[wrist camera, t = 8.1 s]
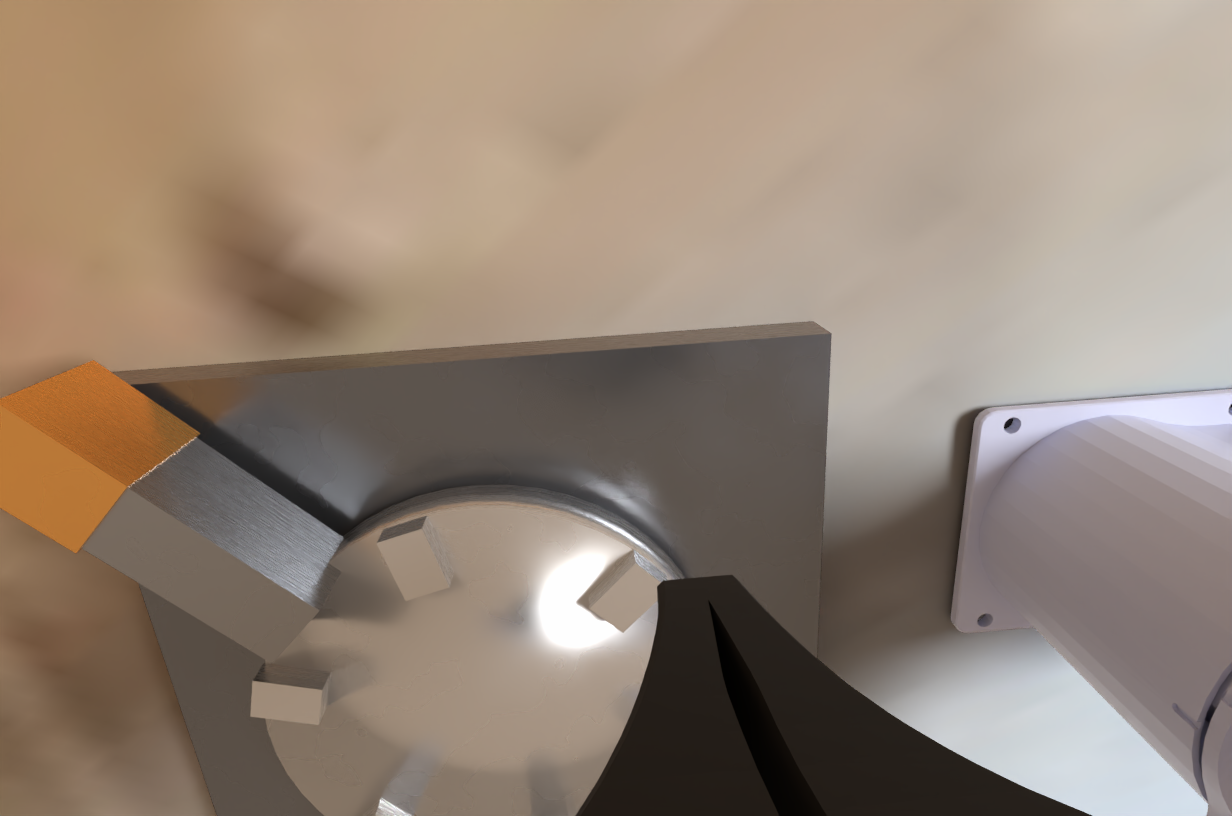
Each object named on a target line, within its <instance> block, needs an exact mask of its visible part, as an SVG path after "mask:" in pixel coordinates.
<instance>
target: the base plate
mask: <svg viewBox="0 0 1232 816" xmlns="http://www.w3.org/2000/svg"><path fill="white" fill-rule="evenodd" d="M830 355H831V333H830V332H828V331H827V330H825V329H824V328H823V327H821V326H820V325H818V324H817V323H815V322H814V321H813V322H799V323H785V324H771V325H758V326H744V327H730V328H716V329H702V330H688V331H675V332H661V333H647V334H633V335H619V336H605V337H592V338H578V339H564V340H550V341H536V342H522V343H509V344H495V345H481V346H467V347H453V348H439V349H426V350H412V351H398V352H384V353H370V354H356V355H342V356H329V357H315V358H301V359H287V360H273V361H259V362H246V363H232V364H218V365H204V366H190V367H176V368H163V369H149V370H135V371H121V372H112V373H113V374H114V375H116V376H117V377H119V378H120V379H122V380H123V381H125V382H126V383H128V384H129V385H131V386H132V387H133V388H135V389H136V390H138V391H139V392H141V393H142V394H144V395H145V396H147V397H148V398H150V399H151V400H152V401H154V402H155V403H157V404H158V405H160V406H161V407H163V408H164V409H166V410H167V411H169V412H170V413H171V414H173V415H174V416H176V417H177V418H179V419H180V420H182V421H183V422H185V423H186V424H188V425H189V426H190V427H192V428H193V429H195V430H196V431H198V432H199V433H200V434H199V436H198V437H197V438H198V439H200V440H201V441H202V442H204V443H205V444H207V445H208V446H210V447H211V448H213V449H214V450H216V451H217V452H219V453H220V454H222V455H223V456H224V457H226V458H227V459H229V460H230V461H232V462H233V463H235V464H236V465H238V466H239V467H241V468H242V469H244V470H245V471H246V472H248V473H249V474H251V475H252V476H254V477H255V478H257V479H258V480H260V481H261V482H263V483H264V484H266V485H267V486H268V487H270V488H271V489H273V490H274V491H276V492H277V493H279V494H280V495H282V496H283V497H285V498H286V499H288V500H289V501H291V502H292V503H293V504H295V505H296V506H298V507H299V508H301V509H302V510H304V511H305V512H307V513H308V514H310V515H311V516H313V517H314V518H315V519H317V520H318V521H320V522H321V523H323V524H324V525H326V526H327V527H329V528H330V529H332V530H333V531H335V532H336V533H337V534H339V535H340V536H342V537H343V536H344V535H345V534H347V533H348V532H350V531H351V530H352V529H354V528H355V527H356V526H358V525H359V524H360V523H362V522H363V521H365V520H366V519H368V518H370V517H372V516H374V515H376V514H377V513H379V512H381V511H383V510H385V509H387V508H388V507H390V506H393V505H396V504H398V503H401V502H403V501H406V500H409V499H411V498H414V497H416V496H420V495H424V494H428V493H432V492H436V491H440V490H443V489H448V488H456V487H464V486H472V485H517V486H526V487H535V488H541V489H546V490H550V491H554V492H559V493H563V494H567V495H570V496H573V497H576V498H579V499H581V500H584V501H587V502H590V503H592V504H595V505H597V506H599V507H601V508H603V509H605V510H607V511H609V512H611V513H613V514H615V515H617V516H619V517H621V518H622V519H624V520H625V521H627V522H628V523H630V524H631V525H633V526H634V527H636V528H637V529H639V530H640V531H641V532H643V533H644V534H646V535H647V536H648V537H649V538H650V539H651V540H652V541H653V542H654V543H655V544H657V545H658V546H659V547H660V548H661V549H662V550H663V551H664V552H665V553H666V554H667V555H668V556H669V558H670V559H671V560H672V561H673V563H674V564H675V565H676V566H677V567H678V569H679V570H680V571H681V572H682V574H683V576H684V577H685V579H686V578H698V577H710V576H722V575H733V576H734V577H735V578H737V579H738V580H739V581H740V582H741V584H742V585H743V586H744V587H745V588H746V589H747V590H748V591H749V592H750V593H751V594H752V596H753V597H754V598H755V599H756V600H757V601H758V602H759V603H760V604H761V605H762V606H763V607H764V608H765V609H766V610H767V611H768V612H769V613H770V614H771V615H772V616H773V618H774V619H775V620H776V621H778V622H779V623H780V624H781V625H782V626H783V627H784V628H785V629H786V630H787V631H788V632H789V633H790V634H791V635H792V636H793V637H794V638H795V639H796V640H797V641H798V642H799V643H801V644H802V645H803V646H804V647H805V648H806V649H807V650H808V651H809V652H810V653H811V654H813V655H814V656H815V657H816V658H817V646H818V624H819V602H820V579H821V557H822V534H823V512H824V489H825V467H826V445H827V422H828V400H829V377H830ZM138 584H139V583H138ZM139 587H140V590H141V592H142V595H143V598H144V601H145V604H146V607H147V610H148V613H149V616H150V619H151V622H152V625H153V628H154V631H155V634H156V637H157V640H158V643H159V646H160V649H161V652H162V655H163V658H164V661H165V663H166V666H167V669H168V672H169V675H170V678H171V681H172V684H173V687H174V690H175V693H176V696H177V699H178V702H179V705H180V708H181V711H182V714H183V717H184V720H185V723H186V726H187V729H188V731H189V734H190V737H191V740H192V743H193V746H194V749H195V752H196V755H197V758H198V761H199V764H200V767H201V770H202V773H203V776H204V779H205V782H206V785H207V788H208V791H209V794H210V797H211V800H212V802H213V805H214V808H215V811H216V814H217V816H324V815H323V814H322V813H321V812H319V811H318V810H317V809H316V808H315V806H314V805H313V804H312V803H311V802H310V801H309V800H308V799H307V798H306V797H305V796H304V795H303V794H302V793H301V792H300V790H299V789H298V788H297V786H296V785H295V784H294V782H293V781H292V780H291V778H290V777H289V776H288V774H287V773H286V771H285V769H284V767H283V765H282V763H281V761H280V760H279V758H278V756H277V754H276V752H275V750H274V747H273V744H272V741H271V738H270V736H269V733H268V730H267V725H266V720H265V718H258V717H250V713H251V697H252V681H253V679H254V678H255V676H256V674H257V673H258V671H259V670H260V668H261V666H262V665H263V663H265V659H263V658H262V657H260V656H258V655H257V654H255V653H253V652H252V651H250V650H248V649H247V648H245V647H244V646H242V645H240V644H239V643H237V642H235V641H234V640H232V639H230V638H229V637H227V636H225V635H224V634H222V633H220V632H219V631H217V630H215V629H214V628H212V627H210V626H209V625H207V624H206V623H204V622H202V621H201V620H199V619H197V618H196V617H194V616H192V615H191V614H189V613H187V612H186V611H184V610H182V609H181V608H179V607H177V606H176V605H174V604H172V603H171V602H169V601H167V600H166V599H164V598H163V597H161V596H159V595H158V594H156V593H154V592H153V591H151V590H149V589H148V588H146V587H144V586H143V585H141V584H139Z"/></svg>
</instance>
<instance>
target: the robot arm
mask: <svg viewBox="0 0 1232 816" xmlns="http://www.w3.org/2000/svg"><path fill="white" fill-rule="evenodd" d="M1231 404H1232V389H1224V390H1211V391H1198V392H1185V393H1172V394H1159V395H1146V396H1133V397H1120V398H1107V399H1094V400H1081V401H1068V402H1055V403H1042V404H1029V405H1016V406H1003V407H991V408H987V409H985V410H983V411H982V412H980V413H979V414H978V416H977V417H976V419H975V422H974V426H973V434H972V443H971V451H970V459H969V468H968V476H967V484H966V493H965V501H964V509H963V518H962V526H961V534H960V543H959V551H958V559H957V568H956V576H955V584H954V593H953V601H952V609H951V622H952V623H953V624H954V626H955V627H956V628H957V629H958V630H959V631H961V632H962V633H975V632H986V631H998V630H1009V629H1020V628H1032V627H1034V628H1035V629H1036V630H1037V631H1038V632H1039V633H1040V634H1041V635H1042V636H1043V637H1044V638H1045V639H1046V640H1047V641H1048V642H1049V643H1050V644H1051V645H1052V646H1053V647H1054V648H1055V649H1056V650H1057V651H1058V652H1059V653H1060V654H1061V655H1062V656H1063V657H1064V658H1065V659H1066V660H1067V661H1068V662H1069V663H1070V664H1071V665H1072V666H1073V667H1074V668H1075V670H1076V671H1077V672H1078V673H1079V674H1080V675H1081V676H1082V677H1083V678H1084V679H1085V680H1086V681H1087V682H1088V683H1089V684H1090V685H1091V686H1092V687H1093V688H1094V689H1095V690H1096V691H1097V692H1098V693H1099V694H1100V695H1101V696H1102V697H1103V698H1104V699H1105V700H1106V701H1107V702H1108V703H1109V704H1110V705H1111V706H1112V707H1113V708H1114V709H1115V710H1116V711H1117V712H1118V713H1119V714H1120V715H1121V716H1122V717H1123V718H1124V719H1125V720H1126V721H1127V722H1128V723H1129V724H1130V725H1131V726H1132V727H1133V728H1134V729H1135V730H1136V731H1137V732H1138V733H1139V734H1140V735H1141V736H1142V737H1143V738H1144V740H1145V741H1146V742H1147V743H1148V744H1149V745H1150V746H1151V747H1152V748H1153V749H1154V750H1155V751H1156V752H1157V753H1158V754H1159V755H1160V756H1161V757H1162V758H1163V759H1164V760H1165V761H1166V762H1167V763H1168V764H1169V765H1170V766H1171V767H1172V768H1173V769H1174V770H1175V771H1176V772H1177V773H1178V774H1179V775H1180V776H1181V777H1182V778H1183V779H1184V780H1185V781H1186V782H1187V783H1188V784H1189V785H1190V786H1191V787H1192V788H1193V789H1194V790H1195V791H1196V792H1197V793H1198V794H1199V795H1200V796H1201V797H1202V798H1203V799H1204V800H1205V801H1206V802H1207V803H1208V812H1207V815H1206V816H1232V408H1231V409H1229V407H1230V405H1231ZM1010 418H1013V422H1012V425H1011V426H1009V427H1008V428H1006V429H1004V424H1005V422H1006V421H1007V420H1008V419H1010ZM657 600H658V619H657V626H656V632H655V636H654V641H653V645H652V650H651V654H650V658H649V662H648V665H647V668H646V671H645V674H644V678H643V681H642V684H641V687H640V690H639V693H638V696H637V699H636V701H635V704H634V706H633V709H632V711H631V714H630V716H629V719H628V721H627V723H626V726H625V728H624V730H623V732H622V735H621V737H620V739H619V741H618V743H617V745H616V747H615V749H614V751H613V753H612V755H611V757H610V759H609V761H608V763H607V765H606V766H605V768H604V770H603V772H602V774H601V776H600V777H599V779H598V781H597V783H596V784H595V786H594V787H593V789H592V791H591V792H590V794H589V795H588V797H587V798H586V800H585V802H584V803H583V805H582V806H581V808H580V809H579V811H578V813H577V814H576V816H1092V815H1089V814H1087V813H1085V812H1082V811H1080V810H1077V809H1075V808H1073V807H1070V806H1068V805H1065V804H1063V803H1061V802H1058V801H1056V800H1053V799H1051V798H1048V797H1046V796H1044V795H1041V794H1039V793H1036V792H1034V791H1032V790H1029V789H1027V788H1025V787H1023V786H1021V785H1018V784H1016V783H1014V782H1012V781H1010V780H1008V779H1006V778H1004V777H1002V776H1000V775H998V774H996V773H994V772H992V771H990V770H988V769H986V768H984V767H982V766H980V765H977V764H976V763H974V762H972V761H970V760H968V759H966V758H964V757H962V756H961V755H959V754H957V753H955V752H953V751H951V750H949V749H948V748H946V747H944V746H942V745H941V744H939V743H937V742H936V741H934V740H932V739H930V738H929V737H927V736H925V735H924V734H922V733H920V732H919V731H917V730H915V729H913V728H912V727H910V726H908V725H907V724H905V723H904V722H902V721H901V720H899V719H897V718H896V717H894V716H893V715H891V714H890V713H888V712H887V711H885V710H884V709H882V708H881V707H880V706H878V705H877V704H875V703H874V702H872V701H871V700H870V699H868V698H867V697H865V696H864V695H862V694H861V693H860V692H858V691H857V690H855V689H854V688H853V687H851V686H850V685H849V684H847V683H846V682H845V681H843V680H842V679H841V678H840V677H838V676H837V675H836V674H835V673H834V672H832V671H831V670H830V669H829V668H828V667H826V666H825V665H824V664H823V663H822V662H821V661H819V660H818V659H817V658H816V657H815V656H814V655H813V654H811V653H810V652H809V651H808V650H807V649H806V648H805V647H804V646H803V645H802V644H801V643H799V642H798V641H797V640H796V639H795V638H794V637H793V636H792V635H791V634H790V633H789V632H788V631H787V630H786V629H785V628H784V627H783V626H782V625H781V624H780V623H779V622H778V621H776V620H775V619H774V618H773V616H772V615H771V614H770V613H769V612H768V611H767V610H766V609H765V608H764V607H763V606H762V605H761V604H760V603H759V602H758V601H757V600H756V599H755V598H754V597H753V596H752V594H751V593H750V592H749V591H748V590H747V589H746V588H745V587H744V586H743V585H742V584H741V582H740V581H739V580H738V579H737V578H735V577H734V576H733V575H722V576H710V577H698V578H686V579H674V580H663V581H662V582H661V583H660V584H659V585H658V586H657ZM983 614H986V615H985V616H984V617H983V618H982V619H978V618H979V617H980V616H981V615H983Z"/></svg>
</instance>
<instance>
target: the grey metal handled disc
mask: <svg viewBox="0 0 1232 816" xmlns="http://www.w3.org/2000/svg"><path fill="white" fill-rule="evenodd" d="M199 434H200V433H199V432H198V431H196V430H195V429H193V428H192V427H190V426H189V425H188V424H186V423H185V422H183V421H182V420H180V419H179V418H177V417H176V416H174V415H173V414H171V413H170V412H169V411H167V410H166V409H164V408H163V407H161V406H160V405H158V404H157V403H155V402H154V401H152V400H151V399H150V398H148V397H147V396H145V395H144V394H142V393H141V392H139V391H138V390H136V389H135V388H133V387H132V386H131V385H129V384H128V383H126V382H125V381H123V380H122V379H120V378H119V377H117V376H116V375H114V374H113V373H112V372H110V371H109V370H107V369H106V368H104V367H103V366H101V365H100V364H98V363H97V362H95V361H94V360H93V361H90V362H88V363H86V364H83V365H81V366H78V367H76V368H74V369H71V370H69V371H66V372H64V373H62V374H59V375H57V376H54V377H52V378H49V379H47V380H45V381H42V382H40V383H37V384H35V385H33V386H30V387H28V388H25V389H23V390H21V391H18V392H16V393H13V394H11V395H9V396H6V397H4V398H1V399H0V508H1V509H3V510H4V511H6V512H8V513H9V514H11V515H13V516H14V517H16V518H18V519H19V520H21V521H23V522H24V523H26V524H28V525H29V526H31V527H33V528H34V529H36V530H38V531H39V532H41V533H43V534H44V535H46V536H48V537H49V538H51V539H53V540H54V541H56V542H58V543H59V544H61V545H63V546H64V547H66V548H68V549H69V550H71V551H73V552H74V553H77V552H78V551H80V550H81V549H83V550H85V551H87V552H88V553H90V554H91V555H93V556H95V557H96V558H98V559H100V560H101V561H103V562H105V563H106V564H108V565H110V566H111V567H113V568H115V569H116V570H118V571H120V572H121V573H123V574H125V575H126V576H128V577H129V578H131V579H133V580H134V581H136V582H138V583H139V584H141V585H143V586H144V587H146V588H148V589H149V590H151V591H153V592H154V593H156V594H158V595H159V596H161V597H163V598H164V599H166V600H167V601H169V602H171V603H172V604H174V605H176V606H177V607H179V608H181V609H182V610H184V611H186V612H187V613H189V614H191V615H192V616H194V617H196V618H197V619H199V620H201V621H202V622H204V623H206V624H207V625H209V626H210V627H212V628H214V629H215V630H217V631H219V632H220V633H222V634H224V635H225V636H227V637H229V638H230V639H232V640H234V641H235V642H237V643H239V644H240V645H242V646H244V647H245V648H247V649H248V650H250V651H252V652H253V653H255V654H257V655H258V656H260V657H262V658H263V659H265V663H263V665H262V666H261V668H260V670H259V671H258V673H257V674H256V676H255V678H254V679H253V681H252V697H251V713H250V717H258V718H265V720H266V725H267V730H268V733H269V736H270V738H271V741H272V744H273V747H274V750H275V752H276V754H277V756H278V758H279V760H280V761H281V763H282V765H283V767H284V769H285V771H286V773H287V774H288V776H289V777H290V778H291V780H292V781H293V782H294V784H295V785H296V786H297V788H298V789H299V790H300V792H301V793H302V794H303V795H304V796H305V797H306V798H307V799H308V800H309V801H310V802H311V803H312V804H313V805H314V806H315V808H316V809H317V810H318V811H319V812H321V813H322V814H323V815H324V816H576V814H577V813H578V811H579V809H580V808H581V806H582V805H583V803H584V802H585V800H586V798H587V797H588V795H589V794H590V792H591V791H592V789H593V787H594V786H595V784H596V783H597V781H598V779H599V777H600V776H601V774H602V772H603V770H604V768H605V766H606V765H607V763H608V761H609V759H610V757H611V755H612V753H613V751H614V749H615V747H616V745H617V743H618V741H619V739H620V737H621V735H622V732H623V730H624V728H625V726H626V723H627V721H628V719H629V716H630V714H631V711H632V709H633V706H634V704H635V701H636V699H637V696H638V693H639V690H640V687H641V684H642V681H643V678H644V674H645V671H646V668H647V665H648V662H649V658H650V654H651V650H652V645H653V641H654V636H655V632H656V626H657V619H658V600H657V586H658V585H659V584H660V583H661V582H662V581H663V580H674V579H685V577H684V576H683V574H682V572H681V571H680V570H679V569H678V567H677V566H676V565H675V564H674V563H673V561H672V560H671V559H670V558H669V556H668V555H667V554H666V553H665V552H664V551H663V550H662V549H661V548H660V547H659V546H658V545H657V544H655V543H654V542H653V541H652V540H651V539H650V538H649V537H648V536H647V535H646V534H644V533H643V532H641V531H640V530H639V529H637V528H636V527H634V526H633V525H631V524H630V523H628V522H627V521H625V520H624V519H622V518H621V517H619V516H617V515H615V514H613V513H611V512H609V511H607V510H605V509H603V508H601V507H599V506H597V505H595V504H592V503H590V502H587V501H584V500H581V499H579V498H576V497H573V496H570V495H567V494H563V493H559V492H554V491H550V490H546V489H541V488H535V487H526V486H517V485H472V486H464V487H456V488H448V489H443V490H440V491H436V492H432V493H428V494H424V495H420V496H416V497H414V498H411V499H409V500H406V501H403V502H401V503H398V504H396V505H393V506H390V507H388V508H387V509H385V510H383V511H381V512H379V513H377V514H376V515H374V516H372V517H370V518H368V519H366V520H365V521H363V522H362V523H360V524H359V525H358V526H356V527H355V528H354V529H352V530H351V531H350V532H348V533H347V534H345V535H344V536H343V537H342V536H340V535H339V534H337V533H336V532H335V531H333V530H332V529H330V528H329V527H327V526H326V525H324V524H323V523H321V522H320V521H318V520H317V519H315V518H314V517H313V516H311V515H310V514H308V513H307V512H305V511H304V510H302V509H301V508H299V507H298V506H296V505H295V504H293V503H292V502H291V501H289V500H288V499H286V498H285V497H283V496H282V495H280V494H279V493H277V492H276V491H274V490H273V489H271V488H270V487H268V486H267V485H266V484H264V483H263V482H261V481H260V480H258V479H257V478H255V477H254V476H252V475H251V474H249V473H248V472H246V471H245V470H244V469H242V468H241V467H239V466H238V465H236V464H235V463H233V462H232V461H230V460H229V459H227V458H226V457H224V456H223V455H222V454H220V453H219V452H217V451H216V450H214V449H213V448H211V447H210V446H208V445H207V444H205V443H204V442H202V441H201V440H200V439H198V438H197V437H198V436H199Z"/></svg>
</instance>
